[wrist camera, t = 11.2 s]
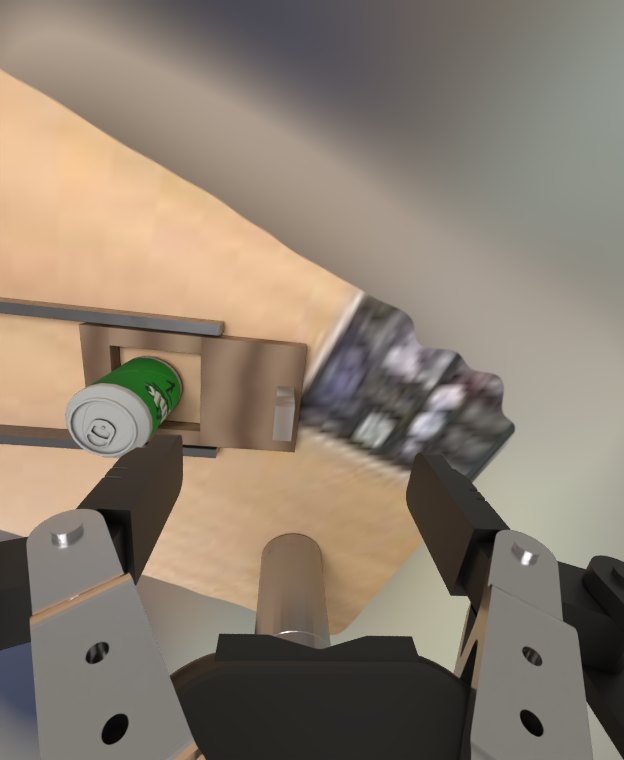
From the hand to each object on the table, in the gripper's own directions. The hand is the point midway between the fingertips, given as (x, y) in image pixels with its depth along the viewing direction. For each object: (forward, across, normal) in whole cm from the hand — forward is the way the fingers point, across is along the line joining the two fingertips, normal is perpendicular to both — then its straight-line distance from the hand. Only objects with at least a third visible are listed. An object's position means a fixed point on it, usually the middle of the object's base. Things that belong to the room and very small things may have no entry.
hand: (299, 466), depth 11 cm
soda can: (+30, +16, +10) cm, 36 cm away
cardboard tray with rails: (+30, +11, +10) cm, 33 cm away
